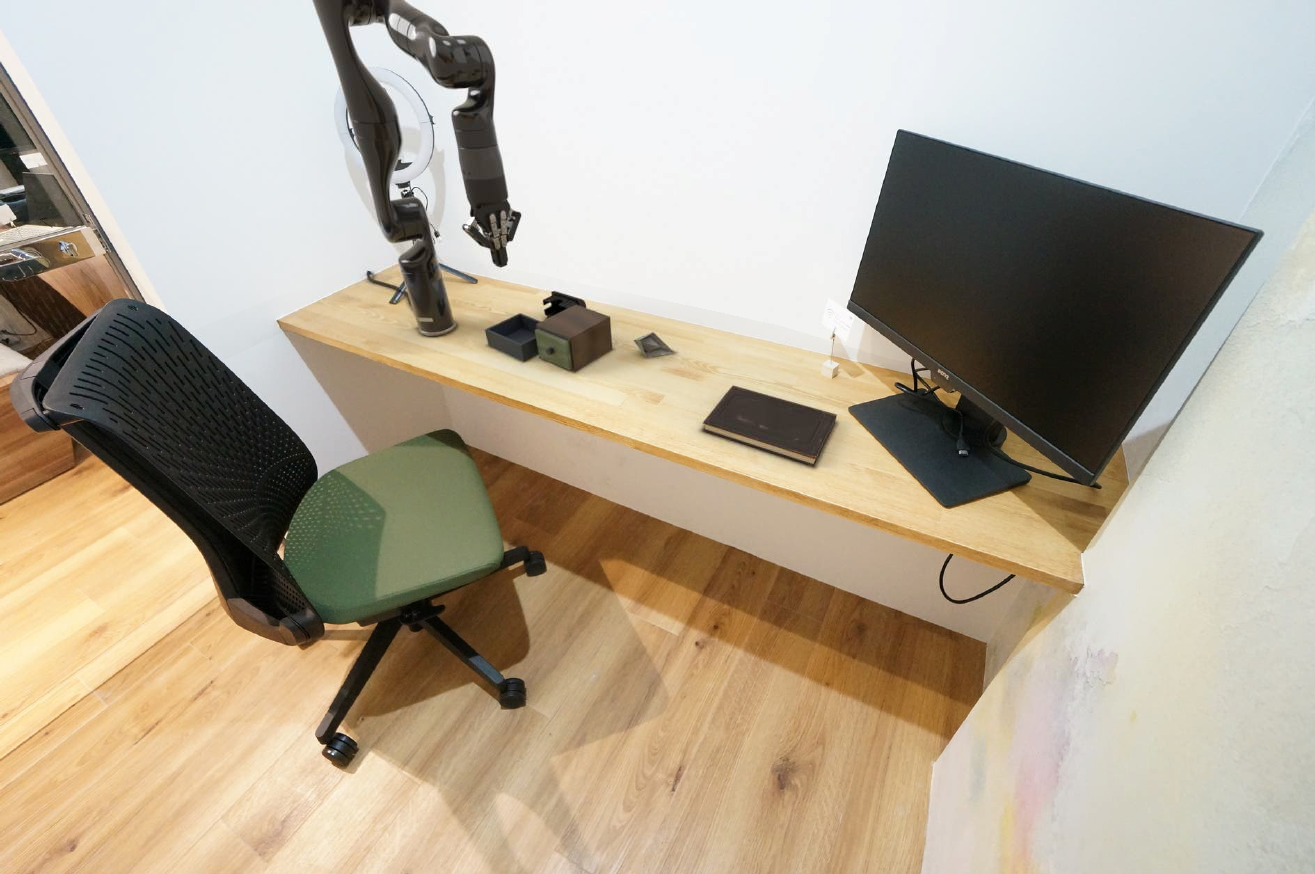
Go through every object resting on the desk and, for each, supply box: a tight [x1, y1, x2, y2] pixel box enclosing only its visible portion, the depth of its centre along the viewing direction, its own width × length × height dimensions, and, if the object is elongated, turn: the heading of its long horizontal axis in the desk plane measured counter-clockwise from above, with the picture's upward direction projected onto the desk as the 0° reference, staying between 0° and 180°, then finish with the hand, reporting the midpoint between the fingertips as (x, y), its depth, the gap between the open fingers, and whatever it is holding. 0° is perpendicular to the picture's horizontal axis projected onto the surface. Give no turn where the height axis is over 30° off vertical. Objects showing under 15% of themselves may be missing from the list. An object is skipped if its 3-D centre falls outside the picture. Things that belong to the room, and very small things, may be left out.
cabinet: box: [536, 305, 613, 373], centre depth 130 cm, size 14×12×9 cm
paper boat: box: [632, 331, 675, 358], centre depth 130 cm, size 12×6×9 cm
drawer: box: [535, 329, 573, 371], centre depth 129 cm, size 14×10×7 cm
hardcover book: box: [702, 384, 838, 468], centre depth 109 cm, size 16×23×2 cm
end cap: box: [542, 290, 587, 320], centre depth 146 cm, size 10×7×7 cm
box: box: [484, 312, 542, 363], centre depth 136 cm, size 14×12×5 cm
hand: (501, 265), depth 108 cm, fingers closed
